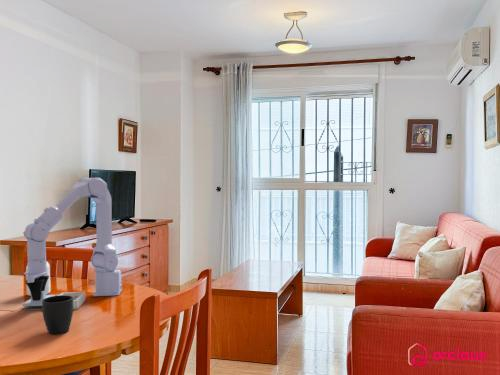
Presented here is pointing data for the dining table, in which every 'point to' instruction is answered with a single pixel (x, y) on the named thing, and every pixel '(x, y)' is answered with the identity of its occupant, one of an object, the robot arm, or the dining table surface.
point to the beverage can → (47, 287)
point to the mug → (57, 313)
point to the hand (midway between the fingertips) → (38, 299)
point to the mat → (33, 308)
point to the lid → (37, 303)
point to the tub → (76, 298)
